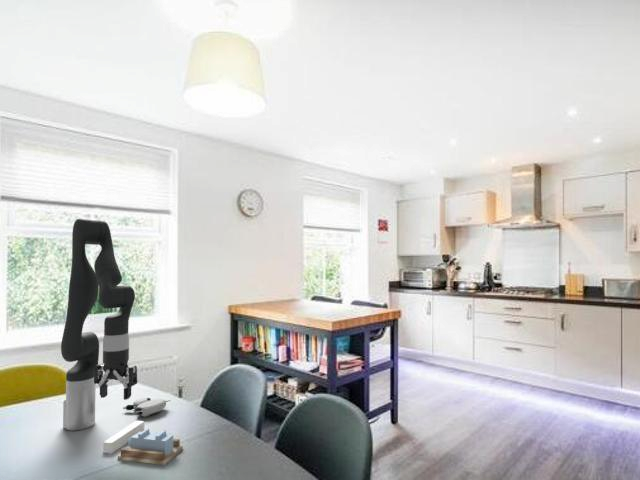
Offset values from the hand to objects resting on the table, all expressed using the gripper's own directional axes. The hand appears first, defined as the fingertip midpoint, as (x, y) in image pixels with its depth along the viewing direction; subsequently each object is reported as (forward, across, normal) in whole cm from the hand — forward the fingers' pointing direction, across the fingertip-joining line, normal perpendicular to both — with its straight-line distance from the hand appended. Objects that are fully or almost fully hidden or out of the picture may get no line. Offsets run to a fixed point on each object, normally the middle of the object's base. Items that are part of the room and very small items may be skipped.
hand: (115, 397), depth 126 cm
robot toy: (+16, +8, -27) cm, 33 cm away
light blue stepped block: (+15, -15, +1) cm, 21 cm away
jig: (+16, -14, +1) cm, 21 cm away
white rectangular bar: (+16, 0, -4) cm, 17 cm away
